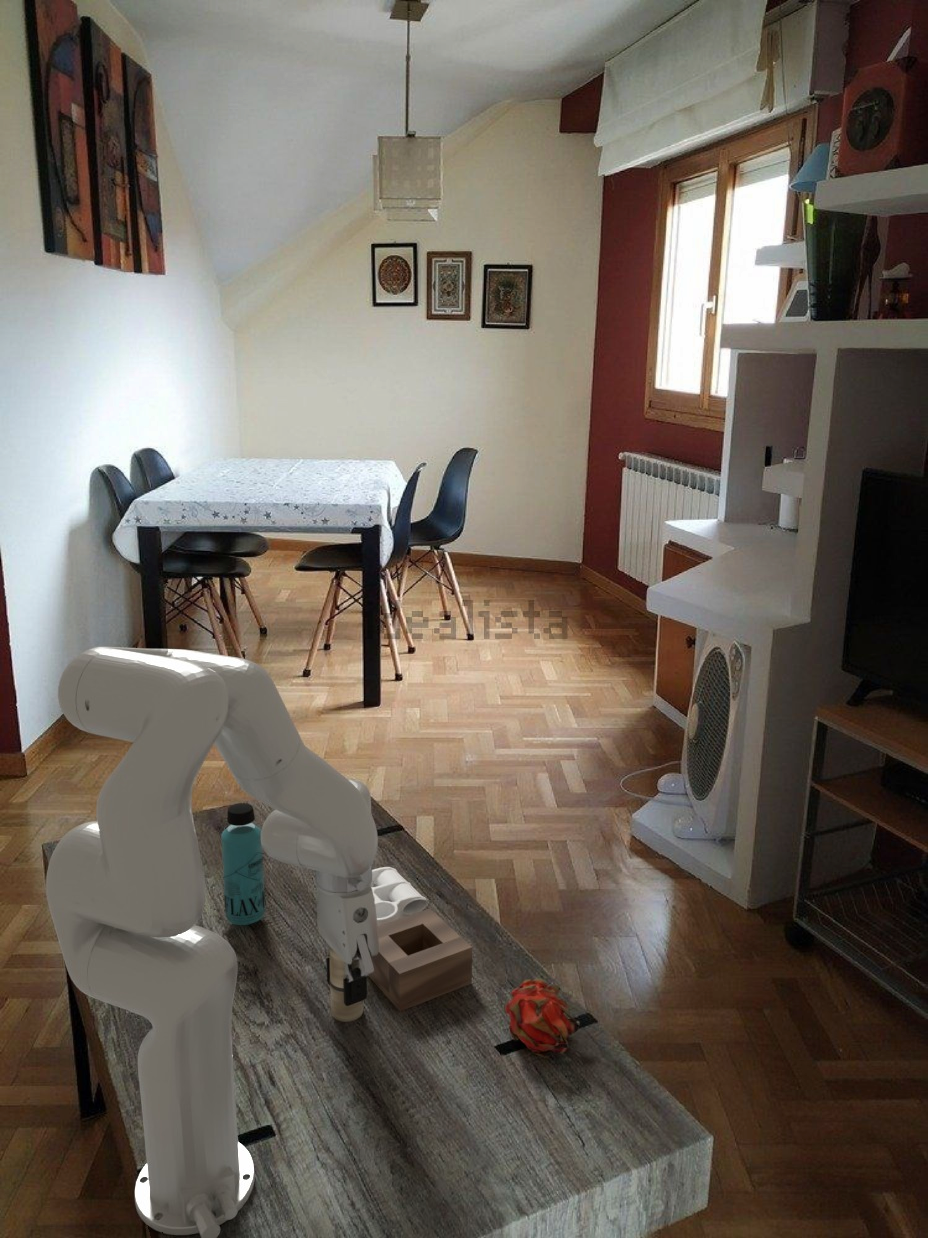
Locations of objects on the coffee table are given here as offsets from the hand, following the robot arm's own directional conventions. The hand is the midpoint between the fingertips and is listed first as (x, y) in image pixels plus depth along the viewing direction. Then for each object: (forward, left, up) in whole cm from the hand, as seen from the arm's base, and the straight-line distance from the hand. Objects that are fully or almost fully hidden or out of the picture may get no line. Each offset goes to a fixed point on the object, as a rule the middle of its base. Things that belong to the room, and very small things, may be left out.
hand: (346, 990), depth 136 cm
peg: (0, 0, -3) cm, 3 cm away
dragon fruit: (-19, -19, -4) cm, 27 cm away
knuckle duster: (+22, -15, -4) cm, 27 cm away
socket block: (+2, -12, -3) cm, 13 cm away
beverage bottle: (+28, +4, -4) cm, 29 cm away
